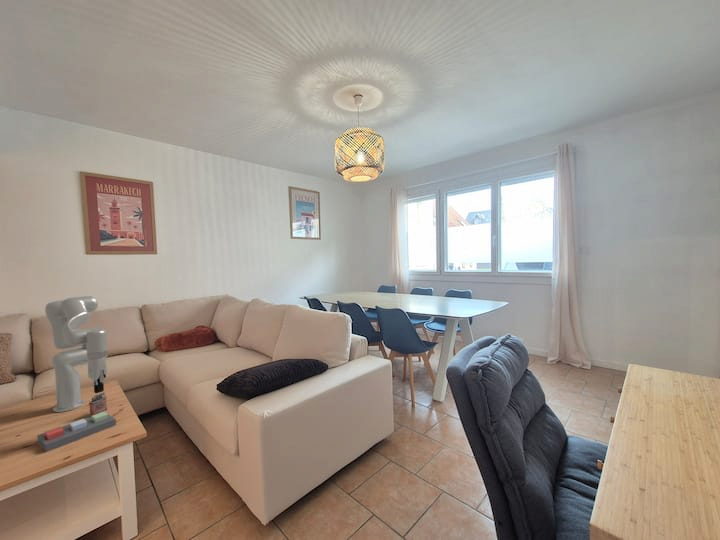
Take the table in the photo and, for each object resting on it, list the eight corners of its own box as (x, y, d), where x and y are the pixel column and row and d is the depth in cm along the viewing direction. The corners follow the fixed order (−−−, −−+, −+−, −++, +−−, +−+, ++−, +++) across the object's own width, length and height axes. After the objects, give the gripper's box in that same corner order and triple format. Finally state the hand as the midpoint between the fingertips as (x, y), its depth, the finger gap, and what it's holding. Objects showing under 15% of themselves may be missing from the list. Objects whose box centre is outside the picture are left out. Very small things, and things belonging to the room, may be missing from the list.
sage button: (91, 422, 144) (91, 415, 144) (104, 418, 148) (104, 411, 148) (95, 425, 142) (95, 418, 142) (108, 420, 146) (108, 414, 146)
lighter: (92, 417, 153) (92, 398, 152) (87, 416, 153) (87, 397, 153) (109, 409, 161) (108, 391, 160) (104, 409, 161) (103, 391, 161)
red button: (44, 439, 131) (44, 432, 131) (60, 434, 135) (60, 426, 135) (48, 443, 128) (47, 435, 128) (63, 437, 132) (63, 429, 132)
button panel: (37, 441, 132) (37, 435, 132) (105, 417, 152) (104, 411, 152) (46, 452, 124) (45, 445, 124) (115, 425, 145) (115, 419, 145)
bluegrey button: (69, 430, 137) (69, 423, 137) (83, 425, 142) (83, 418, 142) (72, 433, 135) (72, 426, 135) (87, 428, 139) (87, 421, 139)
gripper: (82, 355, 145) (83, 391, 145) (93, 359, 137) (94, 398, 137) (101, 350, 151) (103, 386, 152) (112, 355, 143) (114, 392, 144)
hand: (99, 391), depth 145 cm, fingers closed
